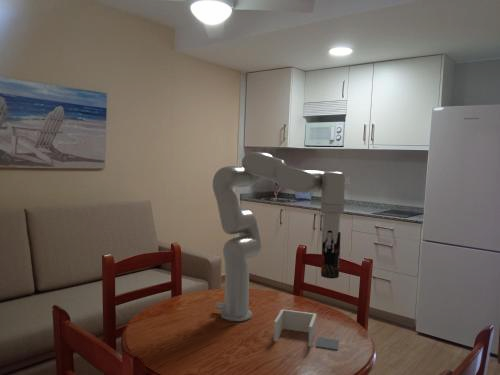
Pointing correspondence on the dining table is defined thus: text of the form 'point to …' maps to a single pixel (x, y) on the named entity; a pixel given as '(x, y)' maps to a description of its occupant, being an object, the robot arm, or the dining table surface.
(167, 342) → the dining table surface
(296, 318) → the u-shaped bracket
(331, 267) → the deodorant
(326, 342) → the coaster
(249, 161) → the robot arm
